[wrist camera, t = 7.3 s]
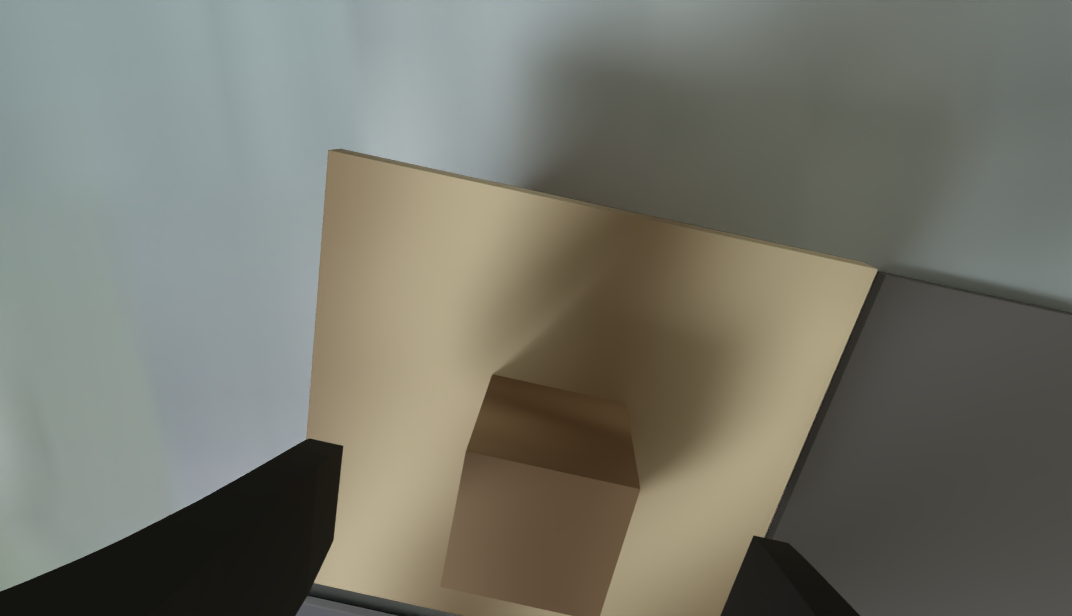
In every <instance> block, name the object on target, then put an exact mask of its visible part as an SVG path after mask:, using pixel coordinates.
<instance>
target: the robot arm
mask: <svg viewBox="0 0 1072 616" xmlns="http://www.w3.org/2000/svg"><path fill="white" fill-rule="evenodd" d="M342 455H343V446H342V445H338V444H333V443H328V442H324V441H319V440H315V439H310V438H309V439H307V440H305V441H303V442H301V443H299V444H298V445H296V446H294V447H292V448H291V449H289V450H287V451H285V452H284V453H282V454H280V455H278V456H277V457H275V458H273V459H272V460H270V461H268V462H266V463H265V464H263V465H261V466H259V467H258V468H256V469H254V470H252V471H251V472H249V473H247V474H245V475H244V476H242V477H240V478H238V479H237V480H235V481H233V482H231V483H229V484H228V485H226V486H224V487H222V488H220V489H219V490H217V491H215V492H213V493H212V494H210V495H208V496H206V497H204V498H203V499H201V500H199V501H197V502H195V503H193V504H191V505H189V506H187V507H185V508H183V509H181V510H179V511H177V512H175V513H173V514H171V515H169V516H167V517H166V518H164V519H162V520H160V521H158V522H156V523H154V524H152V525H150V526H148V527H146V528H144V529H142V530H140V531H138V532H136V533H134V534H132V535H130V536H128V537H126V538H124V539H122V540H120V541H118V542H115V543H113V544H111V545H109V546H107V547H105V548H103V549H100V550H98V551H96V552H94V553H91V554H89V555H87V556H85V557H83V558H80V559H78V560H76V561H73V562H71V563H69V564H66V565H64V566H62V567H59V568H57V569H54V570H52V571H50V572H47V573H45V574H43V575H40V576H38V577H36V578H33V579H31V580H29V581H26V582H24V583H21V584H19V585H16V586H14V587H11V588H9V589H6V590H3V591H1V592H0V616H397V615H393V614H388V613H384V612H379V611H375V610H370V609H365V608H361V607H356V606H352V605H347V604H343V603H338V602H334V601H329V600H325V599H320V598H315V597H311V596H307V595H308V593H309V591H310V589H311V587H312V585H313V583H314V581H315V579H316V577H317V575H318V573H319V571H320V569H321V566H322V564H323V562H324V560H325V558H326V556H327V553H328V551H329V549H330V547H331V545H332V543H333V541H334V532H335V522H336V512H337V503H338V493H339V484H340V474H341V464H342ZM720 616H860V615H859V614H858V613H857V612H856V611H855V610H854V609H853V608H852V607H851V605H850V604H849V603H848V602H847V601H846V600H845V599H844V598H843V597H842V596H841V595H840V594H839V593H838V592H837V591H836V590H835V589H834V588H833V587H832V586H831V585H830V584H829V583H828V581H827V580H826V579H825V578H824V577H823V576H822V575H821V574H820V573H819V572H818V571H817V570H816V569H815V568H814V567H813V566H812V565H811V564H810V563H809V562H808V561H807V560H806V559H805V558H804V557H803V556H802V555H801V554H800V553H799V552H798V551H797V550H796V549H794V548H793V547H792V546H791V545H790V544H789V543H786V542H782V541H777V540H773V539H768V538H763V537H759V536H754V535H753V538H752V540H751V543H750V545H749V547H748V550H747V552H746V555H745V557H744V560H743V562H742V564H741V567H740V569H739V572H738V574H737V577H736V579H735V581H734V584H733V586H732V589H731V591H730V593H729V596H728V598H727V601H726V603H725V606H724V608H723V610H722V613H721V615H720Z"/></svg>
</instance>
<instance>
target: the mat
mask: <svg viewBox="0 0 1072 616" xmlns="http://www.w3.org/2000/svg"><path fill="white" fill-rule="evenodd" d="M766 538H768V539H773V540H777V541H782V542H786V543H789V544H790V545H791V546H792V547H793V548H794V549H796V550H797V551H798V552H799V553H800V554H801V555H802V556H803V557H804V558H805V559H806V560H807V561H808V562H809V563H810V564H811V565H812V566H813V567H814V568H815V569H816V570H817V571H818V572H819V573H820V574H821V575H822V576H823V577H824V578H825V579H826V580H827V581H828V583H829V584H830V585H831V586H832V587H833V588H834V589H835V590H836V591H837V592H838V593H839V594H840V595H841V596H842V597H843V598H844V599H845V600H846V601H847V602H848V603H849V604H850V605H851V607H852V608H853V609H854V610H855V611H856V612H857V613H858V614H859V615H860V616H1072V313H1067V312H1063V311H1058V310H1053V309H1049V308H1044V307H1039V306H1035V305H1030V304H1026V303H1021V302H1016V301H1012V300H1007V299H1003V298H998V297H993V296H989V295H984V294H980V293H975V292H970V291H966V290H961V289H956V288H952V287H947V286H943V285H938V284H933V283H929V282H924V281H920V280H915V279H910V278H906V277H901V276H897V275H892V274H887V273H883V272H878V274H877V277H876V279H875V281H874V284H873V286H872V288H871V291H870V293H869V295H868V298H867V300H866V302H865V305H864V307H863V309H862V312H861V314H860V317H859V319H858V321H857V324H856V326H855V328H854V331H853V333H852V335H851V338H850V340H849V342H848V345H847V347H846V349H845V352H844V354H843V356H842V359H841V361H840V364H839V366H838V368H837V371H836V373H835V375H834V378H833V380H832V382H831V385H830V387H829V389H828V392H827V394H826V396H825V399H824V401H823V404H822V406H821V408H820V411H819V413H818V415H817V418H816V420H815V422H814V425H813V427H812V429H811V432H810V434H809V436H808V439H807V441H806V444H805V446H804V448H803V451H802V453H801V455H800V458H799V460H798V462H797V465H796V467H795V469H794V472H793V474H792V476H791V479H790V481H789V484H788V486H787V488H786V491H785V493H784V495H783V498H782V500H781V502H780V505H779V507H778V509H777V512H776V514H775V516H774V519H773V521H772V524H771V526H770V528H769V531H768V533H767V535H766Z"/></svg>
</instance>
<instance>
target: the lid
mask: <svg viewBox="0 0 1072 616" xmlns="http://www.w3.org/2000/svg"><path fill="white" fill-rule="evenodd" d="M877 270H878V269H876V268H874V267H872V266H870V265H868V264H866V263H864V262H861V261H856V260H851V259H847V258H842V257H838V256H833V255H828V254H824V253H819V252H815V251H810V250H805V249H801V248H796V247H791V246H787V245H782V244H778V243H773V242H768V241H764V240H759V239H755V238H750V237H745V236H741V235H736V234H732V233H727V232H722V231H718V230H713V229H708V228H704V227H699V226H695V225H690V224H685V223H681V222H676V221H672V220H667V219H662V218H658V217H653V216H648V215H644V214H639V213H635V212H630V211H625V210H621V209H616V208H612V207H607V206H602V205H598V204H593V203H589V202H584V201H579V200H575V199H570V198H565V197H561V196H556V195H552V194H547V193H542V192H538V191H533V190H529V189H524V188H519V187H515V186H510V185H505V184H501V183H496V182H492V181H487V180H482V179H478V178H473V177H469V176H464V175H459V174H455V173H450V172H445V171H441V170H436V169H432V168H427V167H422V166H418V165H413V164H409V163H404V162H399V161H395V160H390V159H386V158H381V157H376V156H372V155H367V154H362V153H358V152H353V151H349V150H344V149H335V150H328V162H327V175H326V189H325V202H324V215H323V228H322V241H321V254H320V267H319V281H318V294H317V307H316V320H315V333H314V346H313V359H312V373H311V386H310V399H309V412H308V425H307V438H306V440H307V439H309V438H310V439H315V440H319V441H324V442H328V443H333V444H338V445H342V446H343V455H342V464H341V474H340V484H339V493H338V503H337V512H336V522H335V532H334V541H333V543H332V545H331V547H330V549H329V551H328V553H327V556H326V558H325V560H324V562H323V564H322V566H321V569H320V571H319V573H318V575H317V577H316V579H315V581H314V583H316V584H321V585H325V586H330V587H334V588H339V589H343V590H348V591H353V592H357V593H362V594H366V595H371V596H375V597H380V598H384V599H389V600H394V601H398V602H403V603H407V604H412V605H416V606H421V607H425V608H430V609H434V610H439V611H444V612H448V613H453V614H457V615H462V616H720V615H721V613H722V610H723V608H724V606H725V603H726V601H727V598H728V596H729V593H730V591H731V589H732V586H733V584H734V581H735V579H736V577H737V574H738V572H739V569H740V567H741V564H742V562H743V560H744V557H745V555H746V552H747V550H748V547H749V545H750V543H751V540H752V538H753V535H754V536H759V537H763V538H764V537H765V534H766V532H767V530H768V527H769V525H770V523H771V520H772V518H773V516H774V513H775V511H776V509H777V506H778V504H779V501H780V499H781V497H782V494H783V492H784V490H785V487H786V485H787V483H788V480H789V478H790V475H791V473H792V471H793V468H794V466H795V464H796V461H797V459H798V457H799V454H800V452H801V450H802V447H803V445H804V442H805V440H806V438H807V435H808V433H809V431H810V428H811V426H812V424H813V421H814V419H815V417H816V414H817V412H818V409H819V407H820V405H821V402H822V400H823V398H824V395H825V393H826V391H827V388H828V386H829V383H830V381H831V379H832V376H833V374H834V372H835V369H836V367H837V365H838V362H839V360H840V358H841V355H842V353H843V350H844V348H845V346H846V343H847V341H848V339H849V336H850V334H851V332H852V329H853V327H854V325H855V322H856V320H857V317H858V315H859V313H860V310H861V308H862V306H863V303H864V301H865V299H866V296H867V294H868V291H869V289H870V287H871V284H872V282H873V280H874V277H875V275H876V273H877Z"/></svg>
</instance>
